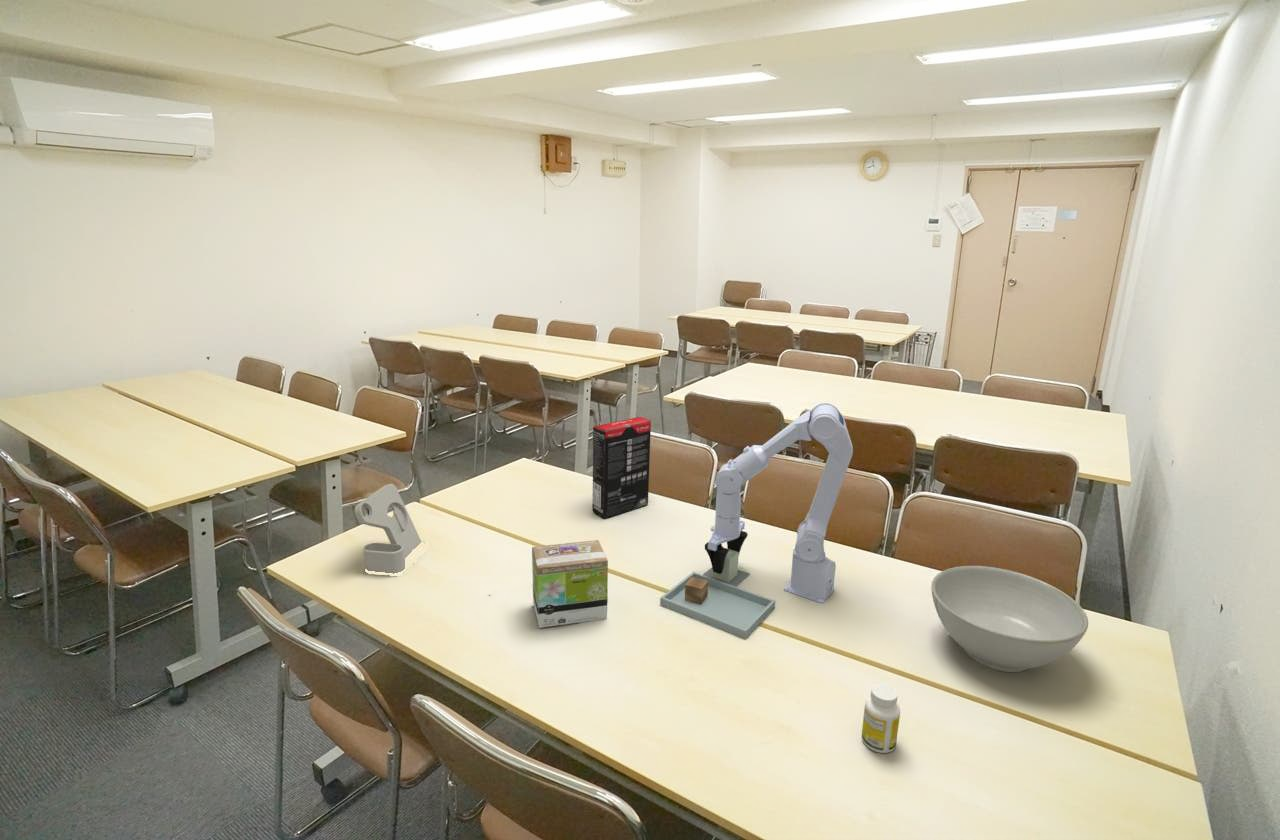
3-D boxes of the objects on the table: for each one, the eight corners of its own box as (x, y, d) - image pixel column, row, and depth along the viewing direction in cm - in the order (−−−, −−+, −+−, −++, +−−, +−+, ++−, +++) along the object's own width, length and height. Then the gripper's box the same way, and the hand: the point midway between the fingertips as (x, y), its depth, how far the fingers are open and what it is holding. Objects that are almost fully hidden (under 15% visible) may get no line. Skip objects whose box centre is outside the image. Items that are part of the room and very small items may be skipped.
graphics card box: (636, 498, 203) (637, 414, 195) (651, 505, 198) (652, 419, 190) (591, 512, 193) (590, 424, 185) (605, 520, 188) (605, 430, 180)
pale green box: (737, 574, 158) (738, 551, 157) (728, 582, 155) (729, 559, 153) (721, 568, 161) (722, 546, 159) (712, 576, 157) (713, 553, 156)
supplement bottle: (887, 729, 110) (894, 680, 108) (901, 754, 105) (908, 703, 102) (856, 729, 110) (862, 680, 107) (868, 754, 105) (874, 704, 102)
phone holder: (399, 578, 156) (391, 509, 151) (360, 574, 158) (351, 506, 153) (432, 544, 173) (426, 481, 168) (397, 541, 174) (390, 479, 169)
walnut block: (707, 596, 149) (708, 580, 148) (701, 604, 146) (701, 588, 145) (691, 591, 151) (691, 576, 150) (684, 600, 148) (685, 584, 146)
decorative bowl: (895, 628, 138) (902, 578, 135) (990, 604, 147) (999, 556, 144) (1003, 714, 114) (1015, 655, 110) (1109, 679, 123) (1123, 623, 120)
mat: (749, 574, 159) (750, 573, 159) (732, 590, 152) (732, 589, 152) (717, 564, 164) (717, 562, 164) (699, 578, 157) (699, 577, 157)
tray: (774, 608, 145) (775, 600, 144) (745, 639, 134) (746, 631, 133) (693, 579, 157) (693, 571, 156) (660, 605, 146) (660, 597, 145)
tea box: (538, 630, 137) (535, 567, 132) (533, 605, 146) (530, 545, 142) (608, 620, 140) (608, 558, 136) (599, 595, 150) (598, 537, 145)
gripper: (727, 500, 161) (725, 549, 165) (697, 520, 150) (695, 573, 154) (753, 507, 157) (750, 557, 161) (724, 528, 146) (721, 582, 150)
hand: (725, 565), depth 157 cm, fingers open, 7 cm apart
